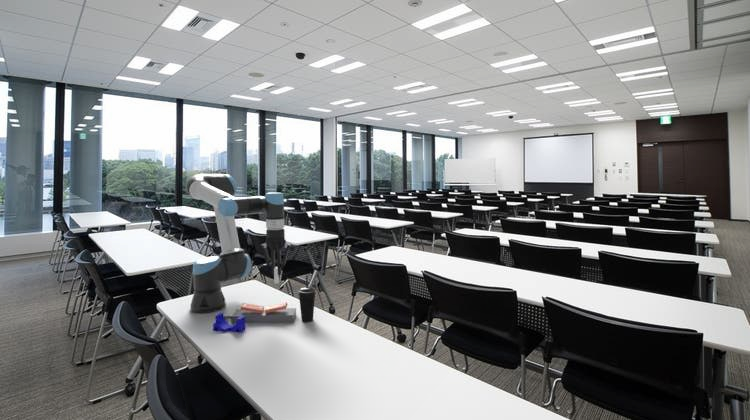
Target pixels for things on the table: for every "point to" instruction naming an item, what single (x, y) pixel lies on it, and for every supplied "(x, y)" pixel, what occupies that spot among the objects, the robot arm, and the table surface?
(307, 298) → the drinking cup
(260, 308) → the rocker
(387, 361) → the table surface
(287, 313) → the power strip
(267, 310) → the rocker
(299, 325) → the table surface
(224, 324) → the cable clip
